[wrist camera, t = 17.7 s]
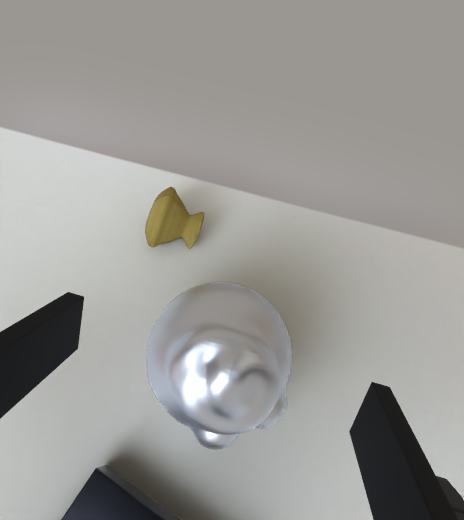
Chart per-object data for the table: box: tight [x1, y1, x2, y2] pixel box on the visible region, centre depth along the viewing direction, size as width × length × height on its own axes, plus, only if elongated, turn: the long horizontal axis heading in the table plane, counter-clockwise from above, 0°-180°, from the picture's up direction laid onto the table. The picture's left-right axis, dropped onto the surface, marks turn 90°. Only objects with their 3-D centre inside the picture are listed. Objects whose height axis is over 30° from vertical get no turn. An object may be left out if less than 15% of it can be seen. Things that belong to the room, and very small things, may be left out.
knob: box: [145, 187, 204, 249], centre depth 27 cm, size 5×5×5 cm
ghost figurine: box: [146, 282, 292, 449], centre depth 19 cm, size 9×10×10 cm
